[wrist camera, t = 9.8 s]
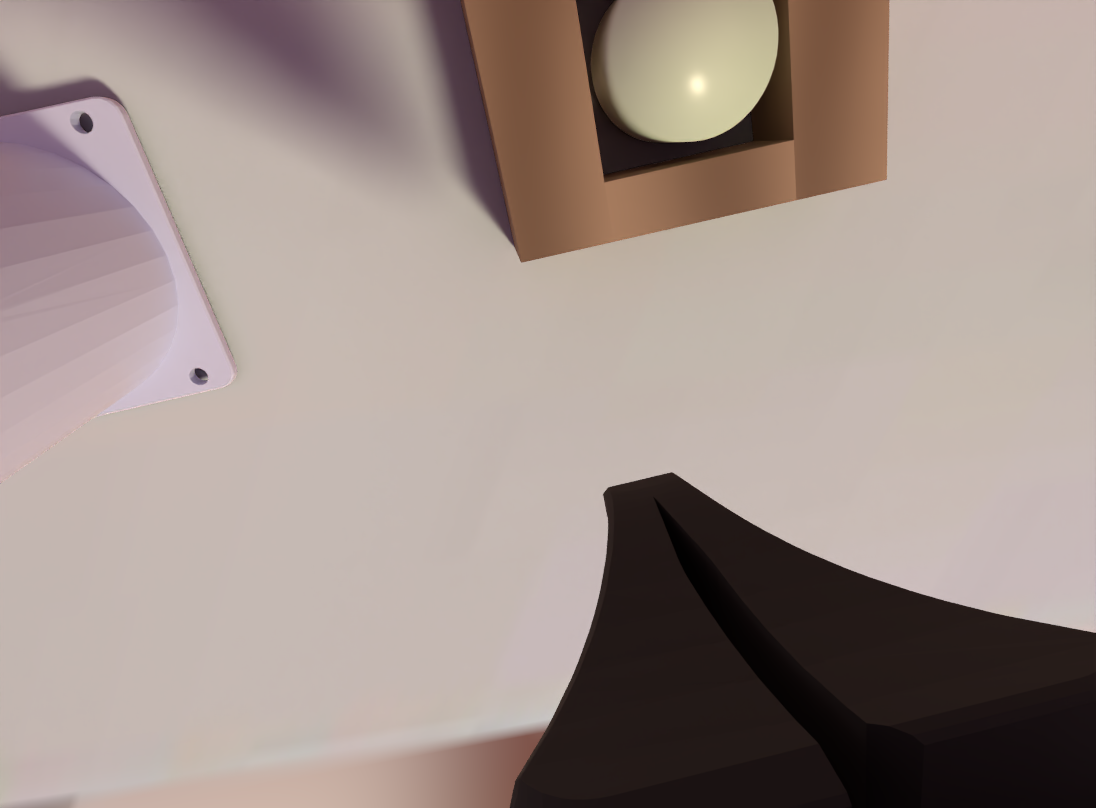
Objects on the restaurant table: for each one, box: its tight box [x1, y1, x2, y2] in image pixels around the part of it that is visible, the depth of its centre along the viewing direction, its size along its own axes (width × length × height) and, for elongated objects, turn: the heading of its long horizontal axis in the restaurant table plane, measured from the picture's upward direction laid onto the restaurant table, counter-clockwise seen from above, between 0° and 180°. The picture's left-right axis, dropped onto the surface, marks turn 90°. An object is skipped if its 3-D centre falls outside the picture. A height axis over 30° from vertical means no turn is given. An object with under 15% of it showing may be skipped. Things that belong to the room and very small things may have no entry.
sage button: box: [591, 0, 778, 143], centre depth 16 cm, size 4×4×3 cm
